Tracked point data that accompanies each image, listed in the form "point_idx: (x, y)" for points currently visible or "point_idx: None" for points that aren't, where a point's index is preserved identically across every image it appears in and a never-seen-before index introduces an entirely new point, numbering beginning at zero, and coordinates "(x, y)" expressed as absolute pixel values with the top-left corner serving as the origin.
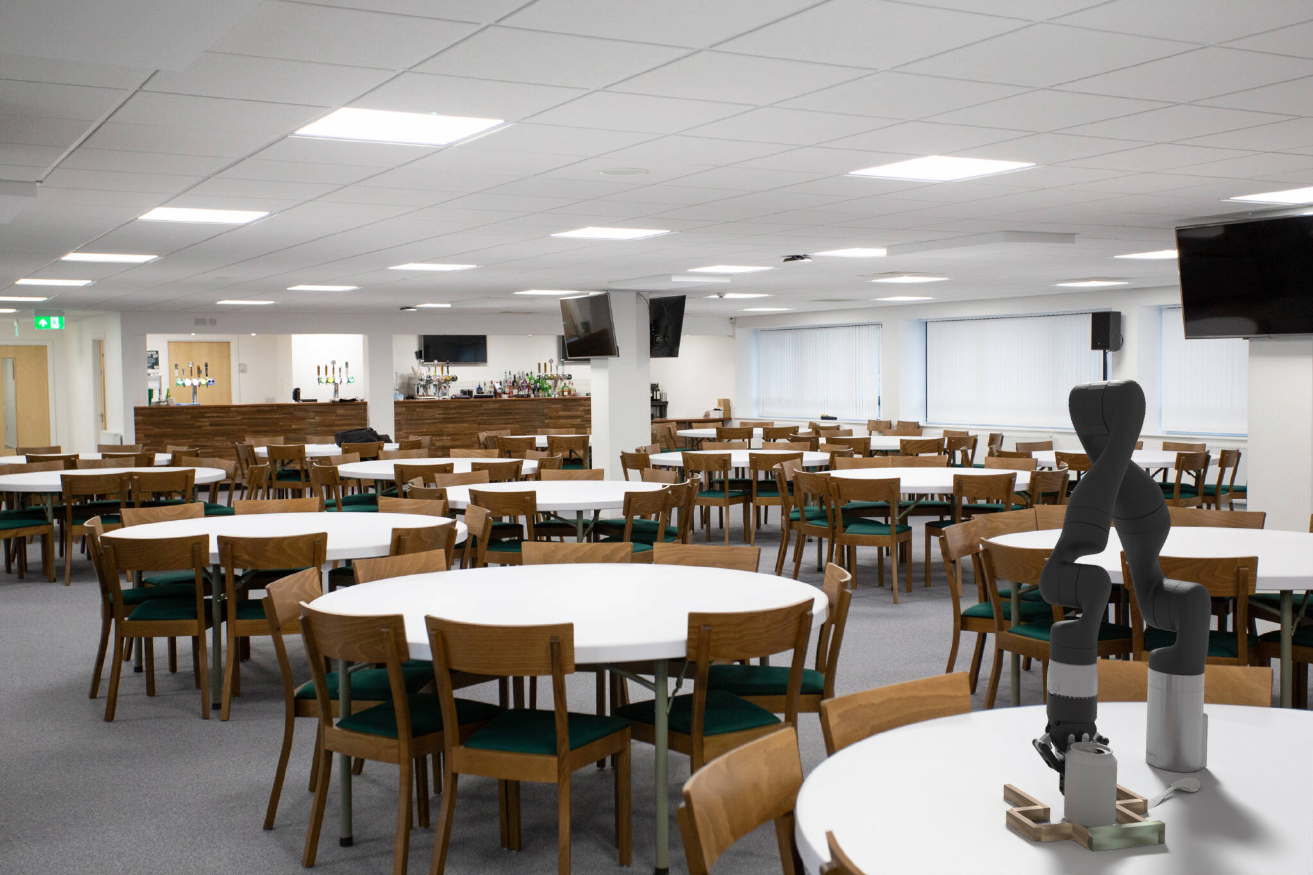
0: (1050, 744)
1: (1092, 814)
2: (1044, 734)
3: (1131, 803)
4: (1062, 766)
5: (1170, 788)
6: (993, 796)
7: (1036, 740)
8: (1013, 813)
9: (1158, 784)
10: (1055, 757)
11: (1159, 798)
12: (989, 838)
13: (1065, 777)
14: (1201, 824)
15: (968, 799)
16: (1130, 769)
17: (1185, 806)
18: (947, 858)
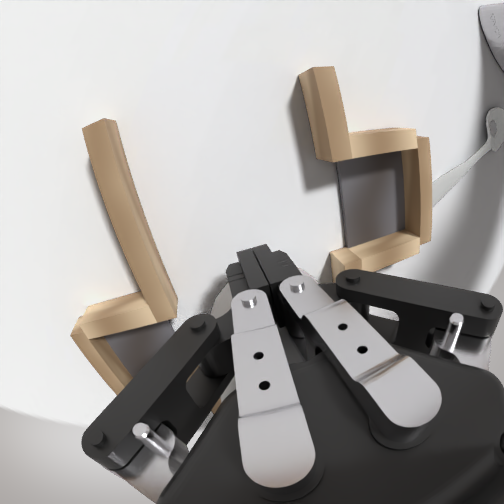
0: (181, 462)
1: None
2: (149, 498)
3: (393, 262)
4: (231, 377)
5: (483, 150)
6: (70, 134)
7: (104, 466)
8: (85, 350)
9: (476, 98)
10: (200, 419)
11: (456, 178)
12: (60, 371)
13: (221, 395)
14: (441, 281)
15: (14, 172)
16: (459, 23)
17: (467, 204)
18: (31, 407)
